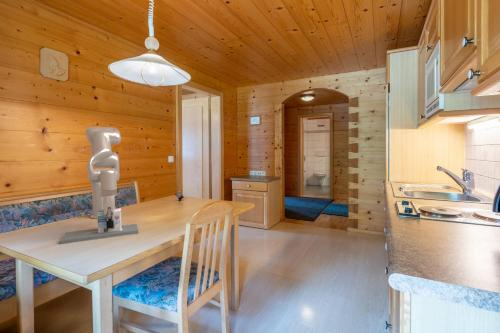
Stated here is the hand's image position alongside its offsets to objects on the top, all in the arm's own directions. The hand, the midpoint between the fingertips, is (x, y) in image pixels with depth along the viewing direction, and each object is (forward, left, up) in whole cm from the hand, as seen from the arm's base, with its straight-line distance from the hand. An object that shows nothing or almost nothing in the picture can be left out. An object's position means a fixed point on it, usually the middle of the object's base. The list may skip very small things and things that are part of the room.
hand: (110, 225), depth 139 cm
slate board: (0, -4, -4) cm, 6 cm away
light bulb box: (0, 0, -3) cm, 3 cm away
